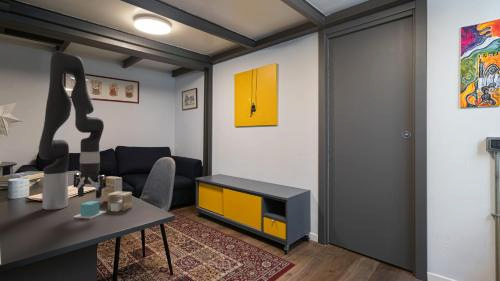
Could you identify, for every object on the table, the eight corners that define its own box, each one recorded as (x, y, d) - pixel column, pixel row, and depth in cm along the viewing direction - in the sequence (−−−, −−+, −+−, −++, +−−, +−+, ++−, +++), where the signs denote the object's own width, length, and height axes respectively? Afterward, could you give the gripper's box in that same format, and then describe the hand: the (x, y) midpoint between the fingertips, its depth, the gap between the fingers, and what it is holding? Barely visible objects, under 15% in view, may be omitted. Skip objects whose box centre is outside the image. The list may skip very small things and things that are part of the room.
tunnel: (107, 209, 117) (107, 194, 116) (116, 206, 123) (116, 191, 122) (124, 210, 116) (123, 195, 115) (131, 206, 121) (131, 192, 121)
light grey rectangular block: (110, 211, 115) (110, 204, 115) (123, 205, 124) (123, 199, 124) (117, 211, 115) (117, 204, 115) (129, 206, 124) (129, 199, 124)
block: (80, 215, 107) (80, 204, 107) (89, 211, 112) (89, 201, 112) (91, 215, 107) (91, 204, 107) (99, 212, 112) (99, 201, 112)
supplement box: (103, 201, 131) (103, 177, 131) (111, 199, 135) (111, 175, 135) (114, 203, 128) (114, 178, 127) (122, 200, 132) (122, 176, 132)
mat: (72, 217, 106) (72, 216, 106) (89, 211, 115) (89, 210, 115) (91, 218, 105) (91, 217, 105) (106, 212, 113) (106, 211, 113)
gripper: (68, 161, 106) (68, 198, 107) (98, 163, 104) (97, 200, 105) (82, 159, 114) (82, 194, 114) (110, 161, 112) (110, 196, 113)
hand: (89, 197), depth 110 cm, fingers open, 8 cm apart
